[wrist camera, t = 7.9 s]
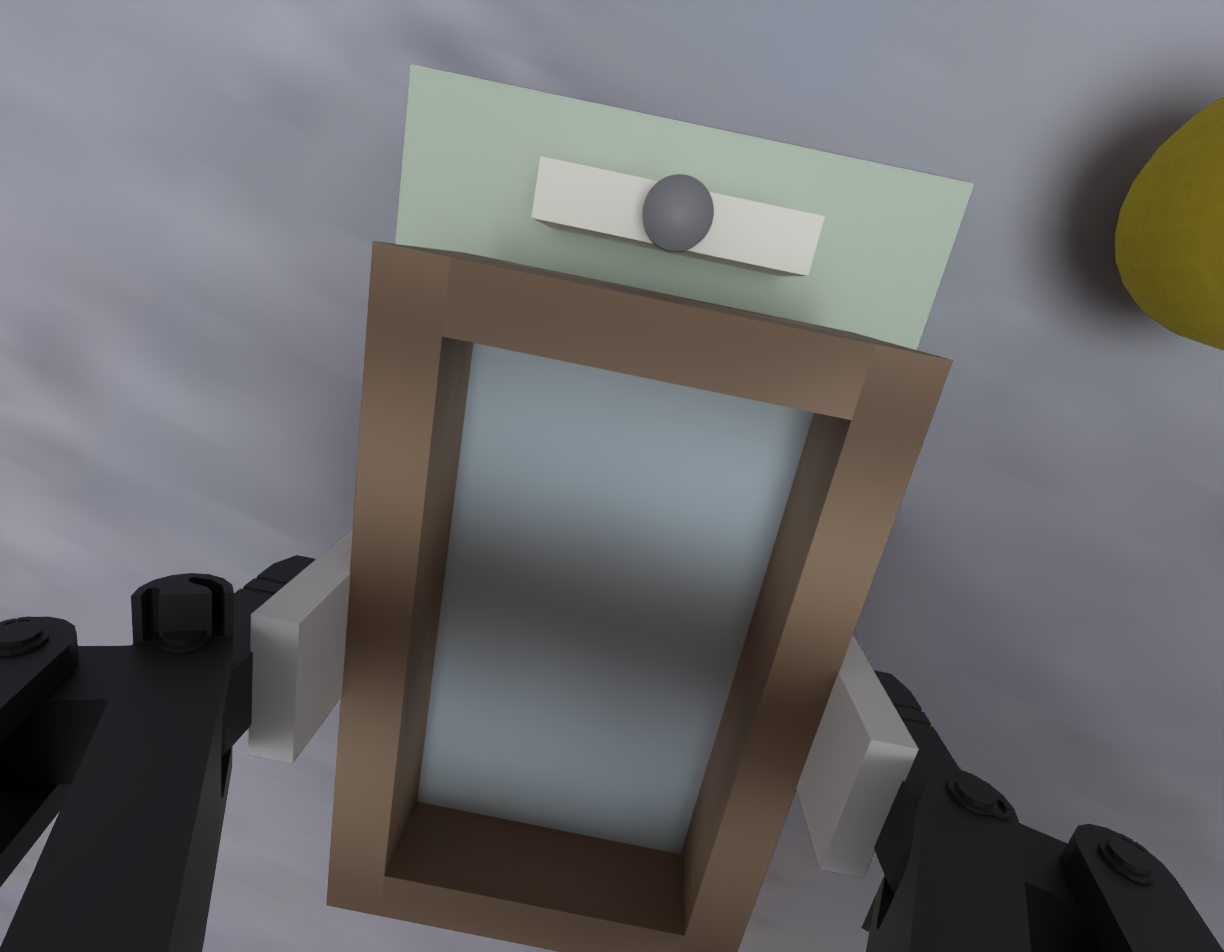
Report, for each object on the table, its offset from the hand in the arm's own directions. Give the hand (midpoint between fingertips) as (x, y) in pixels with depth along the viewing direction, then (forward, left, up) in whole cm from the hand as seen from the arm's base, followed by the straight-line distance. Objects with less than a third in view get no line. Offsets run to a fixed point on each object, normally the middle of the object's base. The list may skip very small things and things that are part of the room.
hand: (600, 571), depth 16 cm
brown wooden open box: (0, 0, 0) cm, 0 cm away
